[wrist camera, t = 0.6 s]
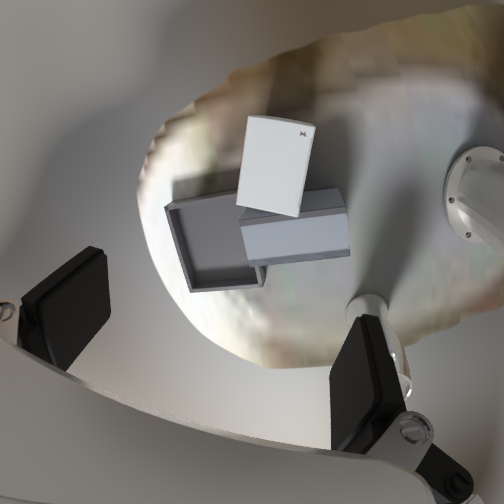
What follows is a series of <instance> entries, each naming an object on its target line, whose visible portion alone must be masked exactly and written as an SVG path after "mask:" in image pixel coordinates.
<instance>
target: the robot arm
mask: <svg viewBox="0 0 504 504" xmlns="http://www.w3.org/2000/svg"><path fill="white" fill-rule="evenodd" d="M466 157H467V160H466ZM449 197H450V199H449ZM443 202H444V209H445V213H446V216H447V219H448V221H449V223H450V225H451V226H452V228H453V229H454V230H455V232H456V233H458V234H459V235H460V236H461V237H462V238H463V239H465V240H467V241H469V242H472V243H478V244H482V243H487V244H488V245H489V246H490V247H491V248H492V249H494V250H495V251H496V252H497V253H498V254H499V255H500V256H501V257H502V258H503V259H504V153H502V152H501V151H499V150H497V149H495V148H492V147H488V146H476V147H473V148H470V149H468V150H466V151H465V152H463V153H462V154H461V155H460V156H459V157H458V158H457V159H456V160H455V162H454V163H453V164H452V166H451V168H450V170H449V172H448V175H447V178H446V181H445V186H444V196H443ZM21 301H22V305H21V306H20V307H19V305H18V304H17V303H16V302H15V301H13V300H10V299H4V300H0V504H484V503H483V501H482V500H481V499H480V497H479V496H478V495H475V496H473V494H472V492H473V485H474V483H473V479H472V477H471V475H470V473H469V472H468V471H467V470H466V469H465V468H463V467H462V466H461V465H460V464H458V463H457V462H456V461H455V460H453V459H452V458H451V457H449V456H448V455H447V454H446V453H444V452H443V451H442V450H441V449H439V448H438V447H437V446H436V445H434V444H433V443H432V442H433V439H434V429H433V426H432V424H431V422H430V421H429V420H428V419H427V418H426V417H425V416H424V415H422V414H420V413H418V412H414V411H407V410H406V406H405V401H404V397H403V393H402V389H401V385H400V381H399V378H398V374H397V370H396V367H395V363H394V359H393V357H392V356H391V355H390V353H389V349H388V346H387V342H386V339H385V335H384V332H383V329H382V325H381V322H380V319H379V317H378V316H374V315H369V314H362V315H361V317H358V316H357V317H356V318H355V320H354V322H353V325H352V327H351V329H350V331H349V333H348V336H347V338H346V340H345V342H344V344H343V346H342V348H341V350H340V352H339V354H338V356H337V358H336V360H335V362H334V364H333V366H332V368H331V371H330V376H329V381H330V406H331V450H326V449H318V448H310V447H304V446H298V445H292V444H286V443H280V442H275V441H269V440H263V439H259V438H254V437H249V436H245V435H240V434H236V433H232V432H228V431H224V430H220V429H216V428H212V427H208V426H205V425H201V424H198V423H194V422H191V421H187V420H184V419H181V418H178V417H175V416H172V415H169V414H166V413H163V412H160V411H157V410H154V409H151V408H148V407H146V406H143V405H140V404H138V403H135V402H132V401H130V400H127V399H125V398H122V397H120V396H117V395H115V394H113V393H110V392H108V391H106V390H103V389H101V388H99V387H96V386H94V385H92V384H90V383H88V382H85V381H83V380H81V379H79V378H77V377H75V376H73V375H71V374H69V373H67V372H66V371H67V369H68V368H69V367H70V365H71V364H72V363H73V362H74V360H75V359H76V358H77V357H78V355H79V354H80V353H81V352H82V351H83V349H84V348H85V347H86V346H87V344H88V343H89V342H90V341H91V339H92V338H93V337H94V336H95V335H96V333H97V332H98V331H99V330H100V329H101V327H102V326H103V325H104V324H105V323H106V322H107V320H108V319H109V317H110V314H111V306H110V295H109V282H108V266H107V256H106V255H105V254H104V251H103V250H102V249H99V248H95V247H92V246H88V247H87V248H85V249H84V250H83V251H81V252H80V253H78V254H77V255H76V256H74V257H73V258H72V259H70V260H69V261H68V262H66V263H65V264H64V265H62V266H61V267H60V268H58V269H57V270H56V271H54V272H53V273H52V274H50V275H49V276H48V277H47V278H45V279H44V280H43V281H42V282H40V283H39V284H38V285H37V286H35V287H34V288H33V289H32V290H30V291H29V292H28V293H27V294H25V295H24V296H23V297H22V298H21Z"/></svg>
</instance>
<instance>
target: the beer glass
mask: <svg viewBox="0 0 504 504" xmlns="http://www.w3.org/2000/svg"><path fill="white" fill-rule="evenodd" d="M362 314H369V315H374V316H378V317H379V319H380V322H381V325H382V329H383V332H384V335H385V339H386V342H387V346H388V349H389V353H390V355H391V356H392V357H393V359H394V363H395V367H396V370H397V374H398V378H399V381H400V385H401V389H402V393H403V397H404V401H406V400H407V399H408V397H409V396H410V394H411V392H412V388H413V385H412V382H411V374H410V368H409V363H408V359H407V355H406V353H405V349H404V347H403V345H402V343H401V341H400V339H399V337H398V336H397V334H396V332H395V331H394V329H393V328H392V326H391V324H390V322H389V320H388V307H387V304H386V302H385V300H384V299H383V298H382V297H380V296H378V295H376V294H363V295H360V296H358V297H356V298H354V299H353V300H352V301H351V302H350V303H349V304H348V306H347V308H346V312H345V317H346V321H347V323H348V325H349V328H350V329H351V327H352V325H353V322H354V320H355V318H356V317H357V316H358V317H361V315H362Z"/></svg>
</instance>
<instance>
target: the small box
mask: <svg viewBox="0 0 504 504" xmlns="http://www.w3.org/2000/svg"><path fill="white" fill-rule="evenodd" d="M315 130H316V127H315V126H314V125H313V124H311V123H306V122H302V121H297V120H292V119H286V118H280V117H272V116H263V115H249V116H247V124H246V131H245V138H244V145H243V152H242V160H241V167H240V174H239V182H238V189H237V197H236V205H240V206H245V207H250V208H255V209H260V210H264V211H269V212H274V213H279V214H283V215H288V216H293V217H299V212H300V206H301V201H302V195H303V190H304V185H305V180H306V175H307V169H308V164H309V159H310V154H311V149H312V143H313V139H314V134H315Z"/></svg>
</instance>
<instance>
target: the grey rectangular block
mask: <svg viewBox="0 0 504 504" xmlns="http://www.w3.org/2000/svg"><path fill="white" fill-rule="evenodd" d="M346 213H347V212H346V206H345V203H344V201H343V198H342V196H341V193H340V191H339V188H330V189H322V190H314V191H306V192H303V195H302V201H301V206H300V212H299V217H293V216H288V215H283V214H279V213H274V212H269V211H264V210H260V209H255V208H250V207H248V208H247V209H246V211H245V212H244V214H243V215H242V216H241V218H240V219H239V221H238V222H239V226H240V227H241V231H242V235H243V240H244V244H245V249H246V253H247V257H248V262H249V266H250V267H256V266H265V265H275V264H284V263H294V262H303V261H312V260H321V259H330V258H339V257H348V256H350V246H349V234H348V224H347V214H346Z"/></svg>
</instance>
